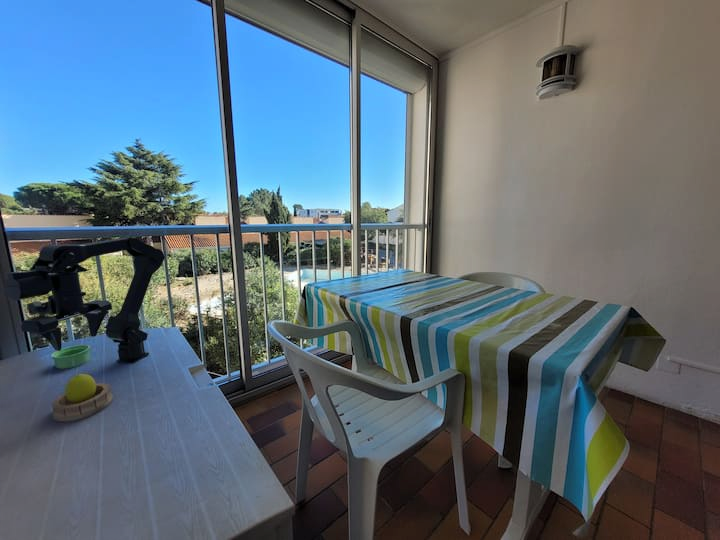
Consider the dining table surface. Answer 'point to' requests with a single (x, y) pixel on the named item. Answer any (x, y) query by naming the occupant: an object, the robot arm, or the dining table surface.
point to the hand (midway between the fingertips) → (77, 343)
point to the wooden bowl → (81, 405)
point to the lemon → (80, 388)
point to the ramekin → (71, 356)
